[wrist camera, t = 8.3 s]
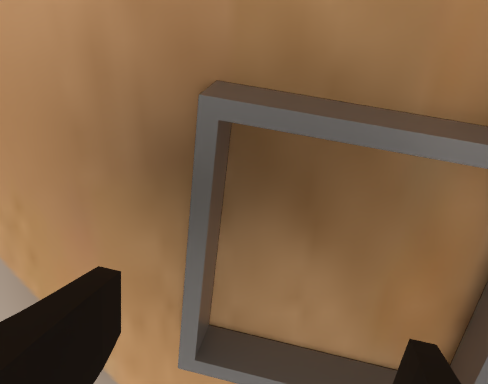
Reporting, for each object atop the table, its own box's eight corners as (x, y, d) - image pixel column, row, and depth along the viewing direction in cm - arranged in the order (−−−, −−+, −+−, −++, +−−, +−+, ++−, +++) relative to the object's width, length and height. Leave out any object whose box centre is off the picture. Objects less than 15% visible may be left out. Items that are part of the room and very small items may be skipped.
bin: (575, 141, 17) (610, 166, 14) (454, 396, 23) (465, 442, 20) (216, 80, 18) (199, 94, 16) (193, 332, 24) (177, 368, 22)
